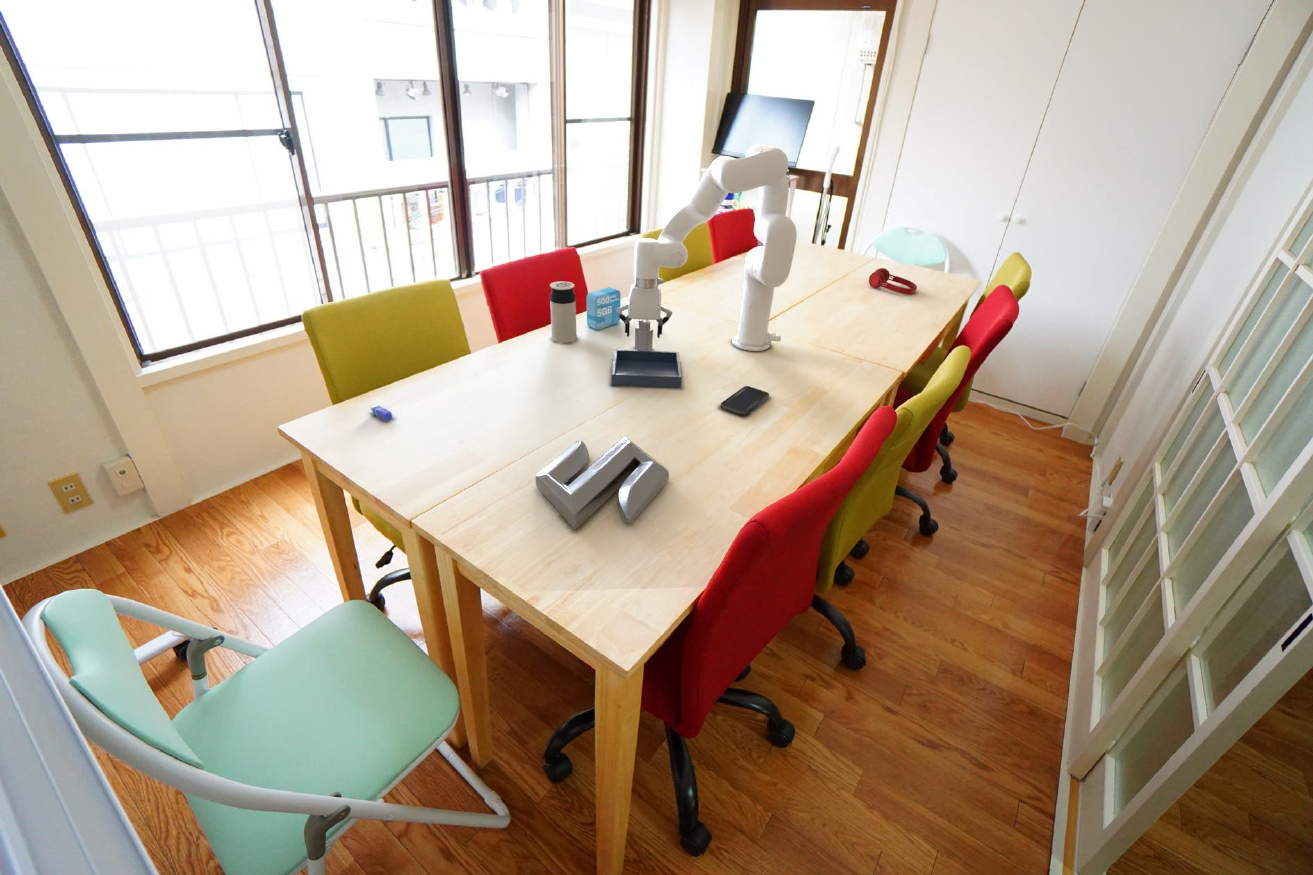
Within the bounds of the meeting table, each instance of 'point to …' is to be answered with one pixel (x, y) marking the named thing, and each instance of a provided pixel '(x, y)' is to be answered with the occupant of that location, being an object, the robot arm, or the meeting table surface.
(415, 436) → the meeting table surface
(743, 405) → the phone
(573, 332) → the travel mug
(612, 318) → the data package
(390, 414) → the eraser
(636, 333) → the power adapter
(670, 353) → the tray
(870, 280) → the headphones
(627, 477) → the emblem
